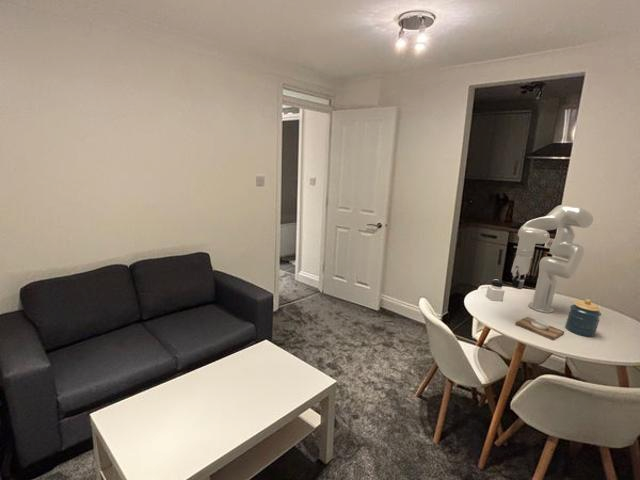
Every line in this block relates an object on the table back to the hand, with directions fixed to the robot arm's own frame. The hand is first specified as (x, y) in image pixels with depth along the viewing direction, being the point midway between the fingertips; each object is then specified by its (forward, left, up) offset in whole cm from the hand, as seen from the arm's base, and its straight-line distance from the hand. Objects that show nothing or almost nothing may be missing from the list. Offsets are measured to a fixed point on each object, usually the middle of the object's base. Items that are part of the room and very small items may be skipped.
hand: (517, 285), depth 186 cm
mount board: (-2, +14, -19) cm, 24 cm away
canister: (-21, +26, -19) cm, 39 cm away
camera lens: (0, 0, -1) cm, 1 cm away
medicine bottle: (-21, -20, -19) cm, 35 cm away
